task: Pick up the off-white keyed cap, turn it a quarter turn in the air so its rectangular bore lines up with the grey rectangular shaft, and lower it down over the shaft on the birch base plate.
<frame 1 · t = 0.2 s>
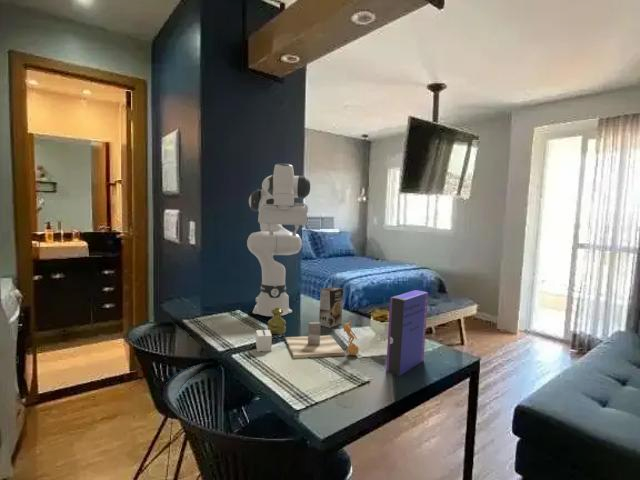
hand: (282, 235, 158), 39 cm above the table, tool pointing down, fingers open, 8 cm apart
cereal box: (405, 366, 126), on the table
gold vase: (276, 332, 155), on the table
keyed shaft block: (313, 347, 140), on the table
coffee box: (330, 324, 169), on the table
keyed cap: (263, 347, 137), on the table
figurine: (350, 355, 134), on the table
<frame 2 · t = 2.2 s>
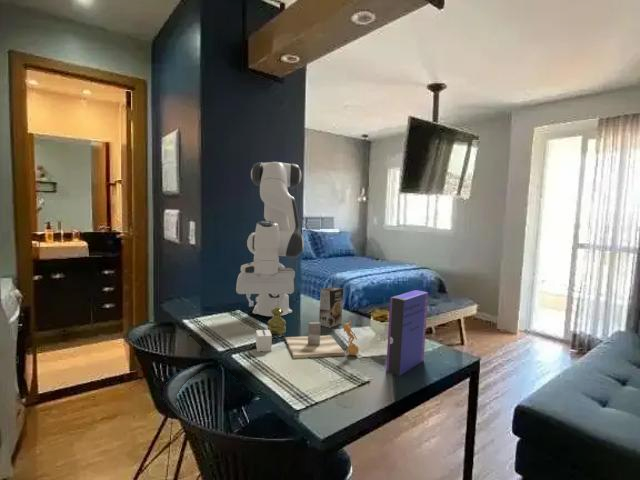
hand: (264, 306, 136), 15 cm above the table, tool pointing down, fingers open, 8 cm apart
nothing on the table moved.
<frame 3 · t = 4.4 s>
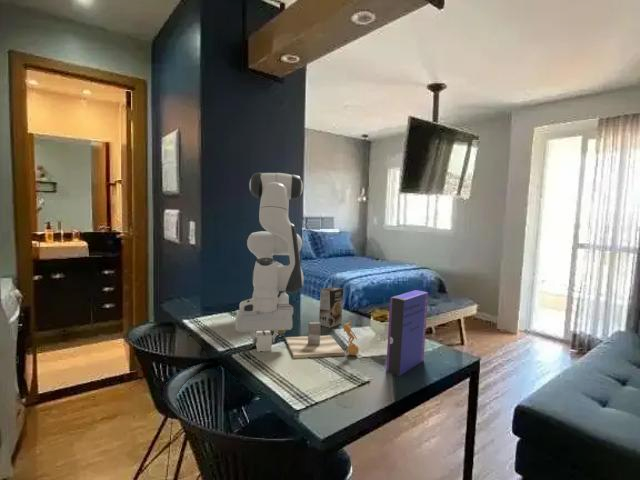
hand: (263, 342, 137), 2 cm above the table, tool pointing down, fingers closed on keyed cap, 5 cm apart
keyed cap: (263, 347, 137), on the table, touching gripper
everything else where it was.
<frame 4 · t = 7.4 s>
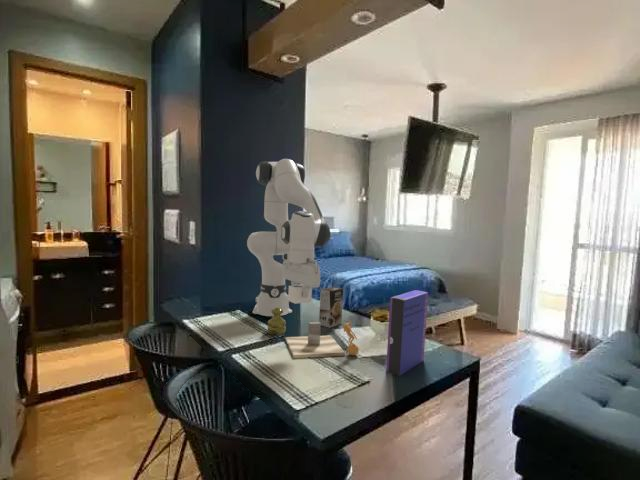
hand: (300, 295, 137), 19 cm above the table, tool pointing down, fingers closed on keyed cap, 5 cm apart
keyed cap: (299, 301, 137), point 17 cm above the table, touching gripper
everything else where it was.
when the fingers open (8 cm above the table, at t = 10.6 s): keyed cap stays where it is, resting on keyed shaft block.
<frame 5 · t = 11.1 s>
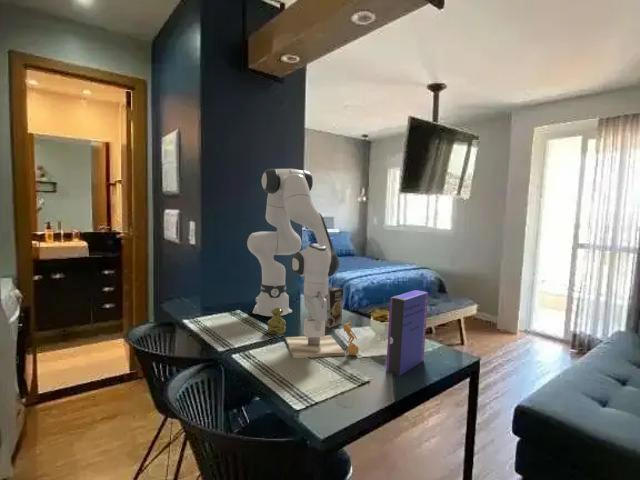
hand: (314, 326, 139), 8 cm above the table, tool pointing down, fingers open, 8 cm apart
keyed cap: (313, 335, 139), point 5 cm above the table, touching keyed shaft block
everything else where it was.
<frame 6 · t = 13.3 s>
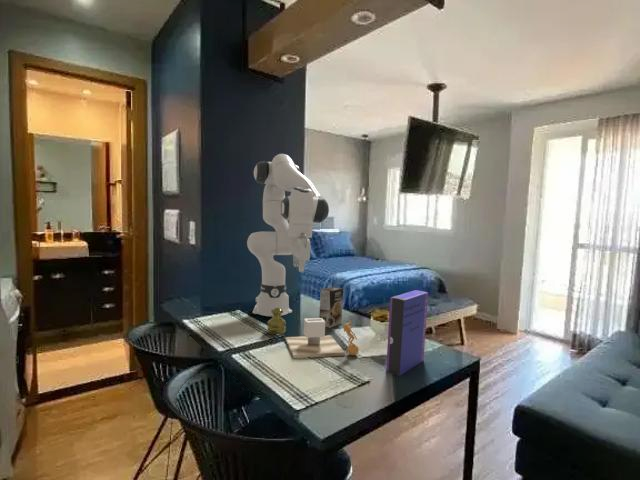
hand: (298, 269, 142), 28 cm above the table, tool pointing down, fingers open, 8 cm apart
nothing on the table moved.
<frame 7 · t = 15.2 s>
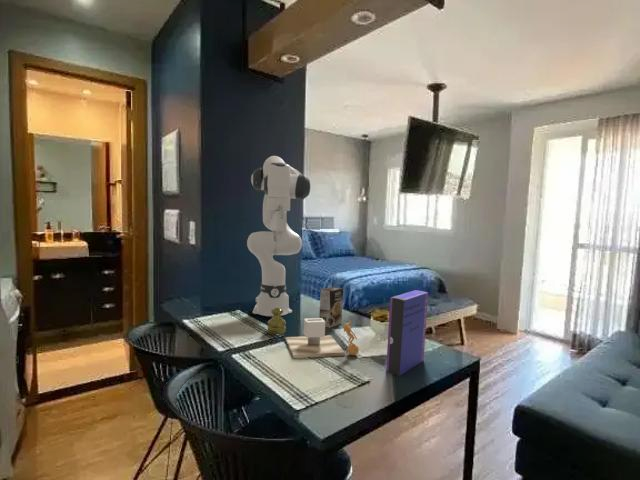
hand: (277, 242, 145), 37 cm above the table, tool pointing down, fingers open, 8 cm apart
nothing on the table moved.
at the end: keyed cap 0.1 cm off-centre on the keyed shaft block, point 4.7 cm above the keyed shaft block's base; keyed cap tilted 0°; the gripper is holding nothing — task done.
